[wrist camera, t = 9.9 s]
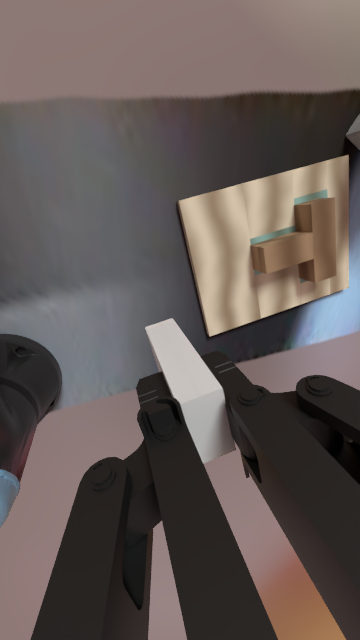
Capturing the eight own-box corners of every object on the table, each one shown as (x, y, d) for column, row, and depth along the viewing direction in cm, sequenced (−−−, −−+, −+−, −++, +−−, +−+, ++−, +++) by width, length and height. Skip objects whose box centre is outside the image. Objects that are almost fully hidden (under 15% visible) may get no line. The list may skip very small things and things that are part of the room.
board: (207, 334, 49) (209, 336, 48) (176, 201, 40) (178, 201, 39) (343, 286, 53) (348, 287, 52) (342, 156, 44) (348, 154, 43)
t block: (256, 292, 47) (269, 298, 44) (246, 219, 43) (259, 219, 39) (319, 271, 49) (336, 275, 46) (315, 198, 44) (335, 197, 41)
